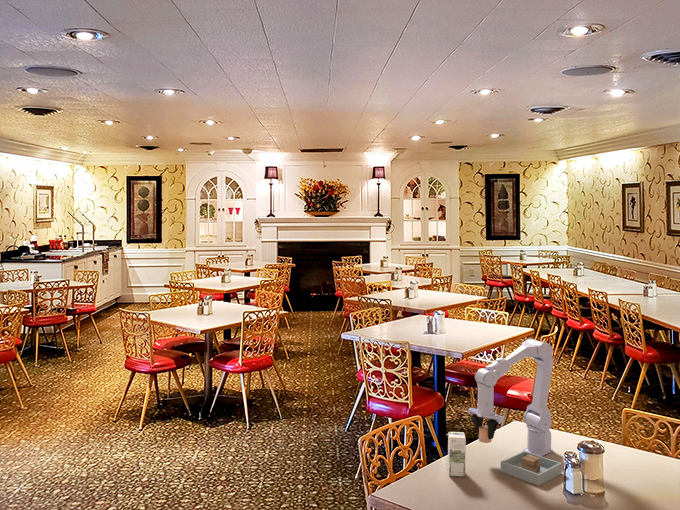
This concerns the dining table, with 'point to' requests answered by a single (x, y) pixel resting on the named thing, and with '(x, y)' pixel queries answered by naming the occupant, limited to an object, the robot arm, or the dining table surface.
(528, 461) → the walnut block
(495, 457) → the dining table surface
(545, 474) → the tote
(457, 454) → the syrup box
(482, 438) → the peach rounded capsule
